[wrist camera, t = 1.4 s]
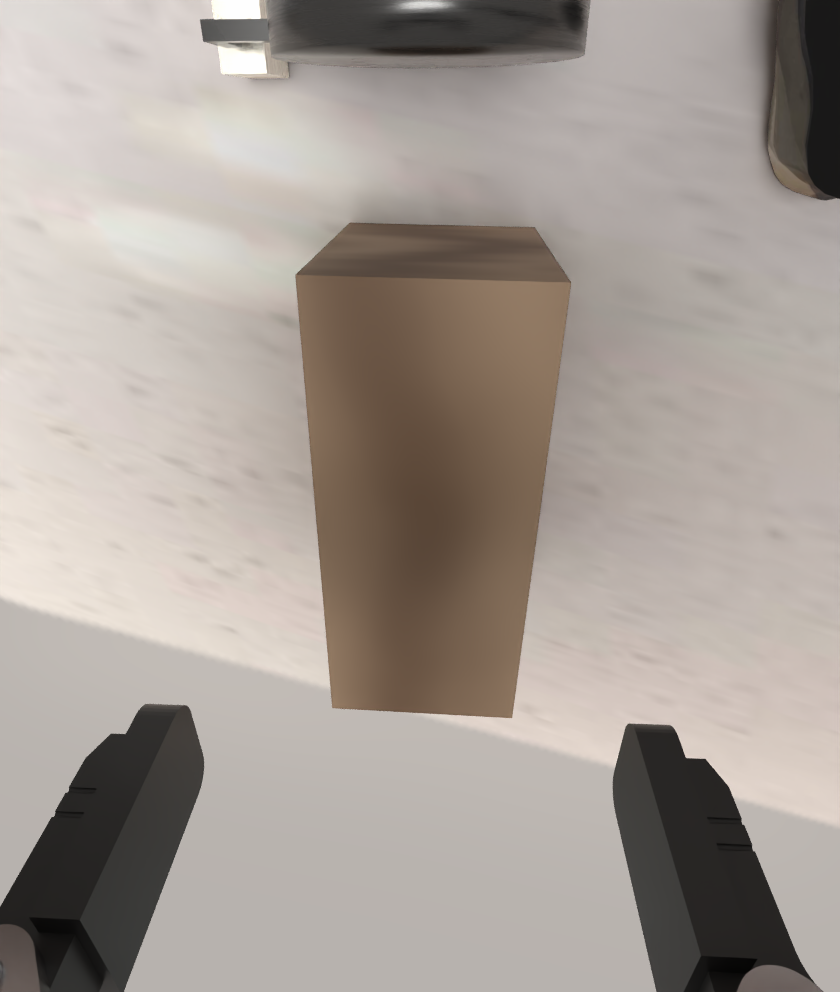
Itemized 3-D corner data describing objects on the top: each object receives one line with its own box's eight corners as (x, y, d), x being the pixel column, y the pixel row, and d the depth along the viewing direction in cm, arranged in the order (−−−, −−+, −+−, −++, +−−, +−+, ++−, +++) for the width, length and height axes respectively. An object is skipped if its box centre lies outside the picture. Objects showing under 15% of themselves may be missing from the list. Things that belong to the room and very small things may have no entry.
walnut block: (534, 226, 20) (571, 282, 14) (499, 569, 28) (511, 717, 21) (350, 222, 21) (295, 274, 14) (363, 562, 28) (332, 707, 21)
